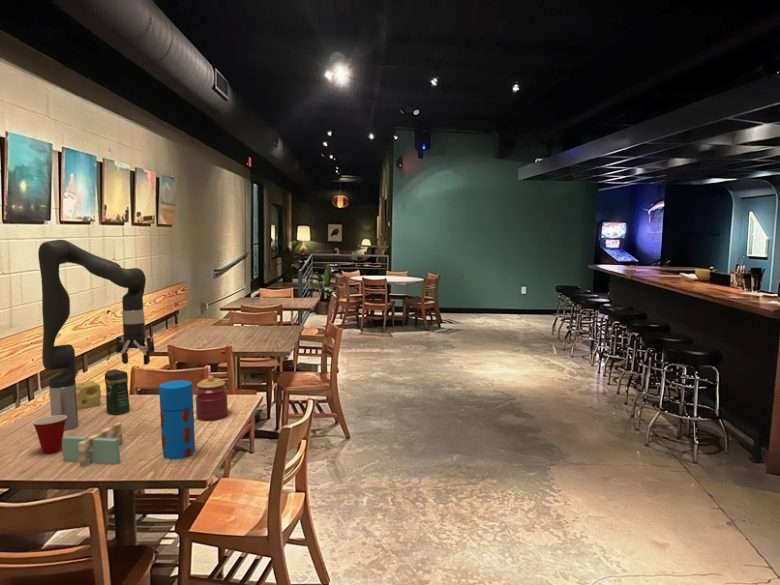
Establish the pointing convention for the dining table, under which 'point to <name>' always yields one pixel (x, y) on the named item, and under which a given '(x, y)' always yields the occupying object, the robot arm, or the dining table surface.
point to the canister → (211, 399)
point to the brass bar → (109, 432)
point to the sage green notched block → (101, 453)
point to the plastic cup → (50, 432)
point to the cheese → (88, 395)
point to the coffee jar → (117, 392)
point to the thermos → (177, 419)
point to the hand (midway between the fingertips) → (136, 363)
